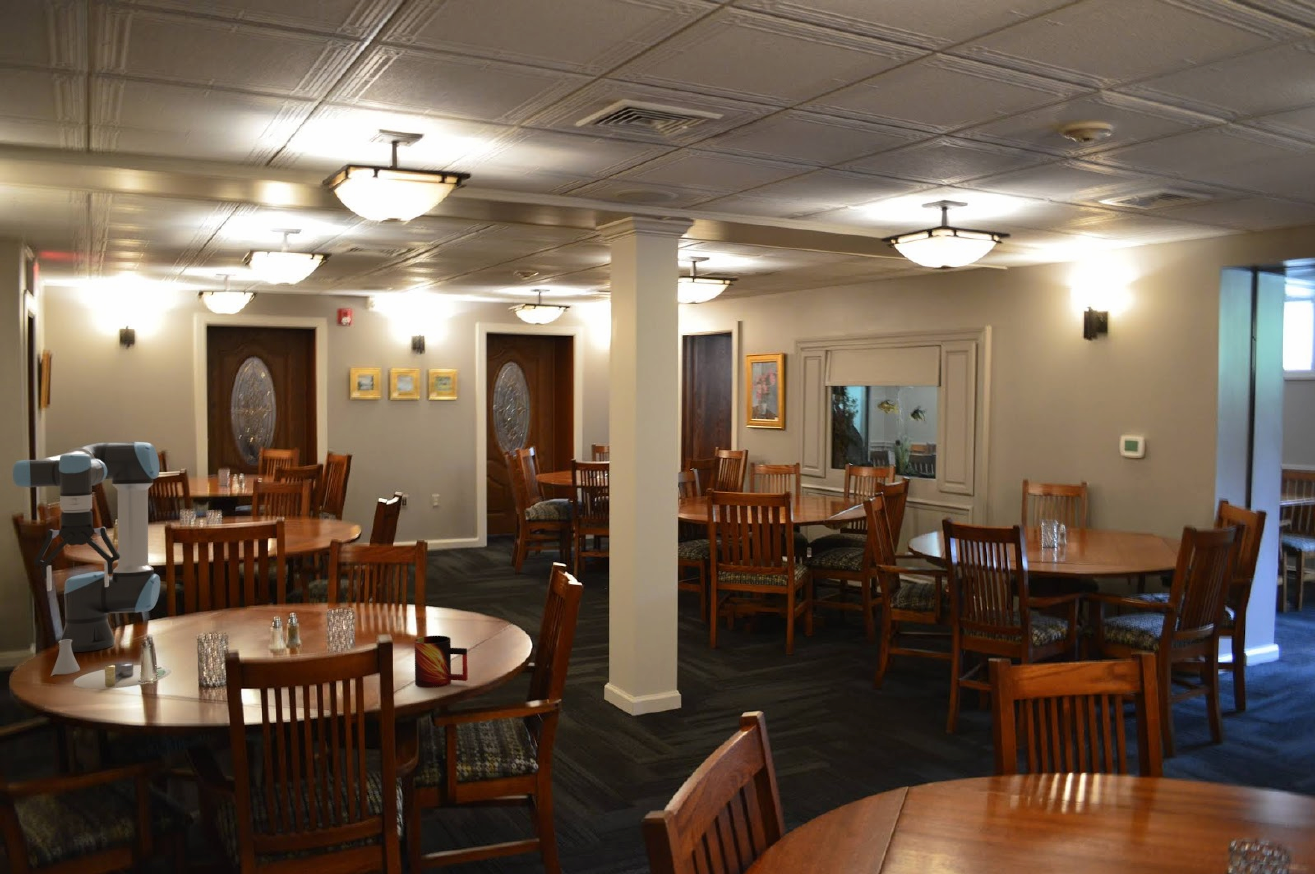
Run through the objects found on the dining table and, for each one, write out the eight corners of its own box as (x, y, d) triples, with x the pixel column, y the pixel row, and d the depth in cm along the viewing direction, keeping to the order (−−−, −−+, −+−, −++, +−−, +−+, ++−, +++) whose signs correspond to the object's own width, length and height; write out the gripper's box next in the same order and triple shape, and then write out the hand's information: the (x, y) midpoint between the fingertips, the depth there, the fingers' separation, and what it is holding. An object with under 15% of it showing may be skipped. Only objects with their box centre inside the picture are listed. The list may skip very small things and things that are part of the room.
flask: (67, 679, 280) (66, 644, 279) (45, 678, 281) (44, 642, 281) (86, 672, 287) (86, 638, 286) (65, 671, 288) (64, 637, 288)
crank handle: (116, 673, 280) (116, 654, 280) (136, 672, 281) (135, 654, 281) (98, 686, 267) (98, 667, 267) (118, 685, 268) (118, 666, 267)
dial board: (93, 671, 288) (93, 666, 288) (182, 667, 292) (182, 662, 292) (58, 695, 264) (58, 690, 264) (155, 690, 268) (155, 685, 268)
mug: (467, 685, 273) (467, 641, 272) (415, 689, 269) (415, 644, 269) (465, 675, 282) (464, 633, 282) (414, 679, 278) (414, 636, 278)
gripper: (20, 514, 264) (22, 594, 265) (127, 509, 274) (129, 586, 275) (25, 511, 271) (27, 589, 272) (129, 507, 281) (131, 582, 282)
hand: (78, 588), depth 273 cm, fingers open, 13 cm apart
